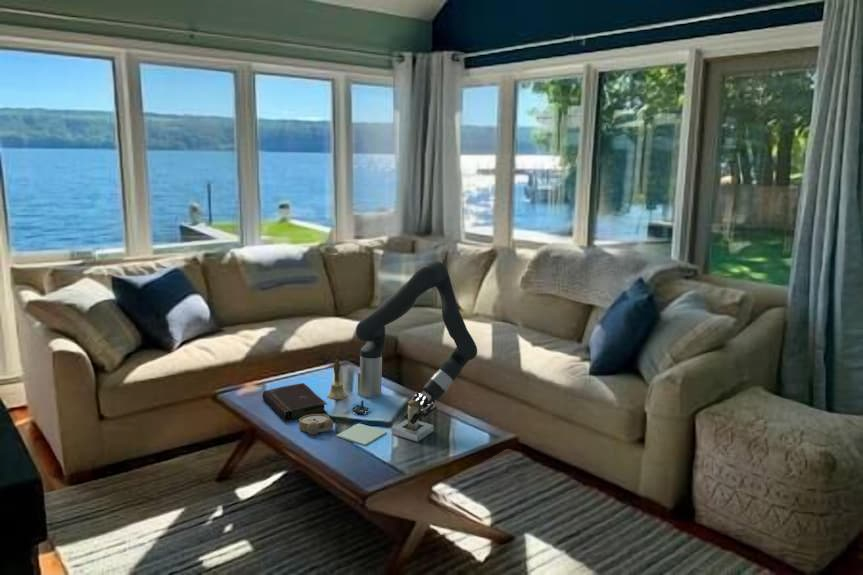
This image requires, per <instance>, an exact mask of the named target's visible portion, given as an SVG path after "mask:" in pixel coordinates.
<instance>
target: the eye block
mask: <svg viewBox="0 0 863 575" xmlns="http://www.w3.org/2000/svg"><path fill="white" fill-rule="evenodd" d="M433 432H434V424H430V423H427V422H424V421H420V420H419V424H418V430H416V431H413V430H410V429H408V420H407V419H406V418H405V419H404V420H403V421H401V422H400V423H398V424H396V425H394V426H392V427H391V434H392V435H393V436H396V437H401V438H404V439H407V440H409V441H413V442H419V441H421V440H422V439H424V438H425V437H426V436H428V435H429V434H431V433H433Z"/></svg>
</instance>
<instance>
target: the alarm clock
mask: <svg viewBox="0 0 863 575" xmlns="http://www.w3.org/2000/svg"><path fill="white" fill-rule="evenodd" d="M298 420H299V424H298V425H299V430H300V431H302V432H307V433H308V434H309V435H311V436H315V435H317V434H318V433H322V432H325V433H326V432H327V433H329V432H331V431H332V430H333V428H334V422H333V420H332V419H331V417H330V416H329V415H328V414H311V415H306V416H303V417H301V418H298Z"/></svg>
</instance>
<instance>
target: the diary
mask: <svg viewBox="0 0 863 575" xmlns="http://www.w3.org/2000/svg"><path fill="white" fill-rule="evenodd" d="M261 397H262V400H263V401H264V402H265V403H266V404H267V405H268V406H269V407H270V408H271V409H272V410H273V411H274V412H275V413H276V414H277V415H278V416H279V417H280V418H281V419H282V420H283V421H284V422H285V423H286V422H287V419H288V420H289V421H290V422H291V421H292V420H295V419H300V418H301V417H303V416H306V415H311V414H324V415H327V413H328V411H326V410H325V405H327V406H328V403H327V402H326V401H324V399H322V398H321V397H320V396H319V395H318V394H316V393H315V392H314V391H313V390H312V388H310V387H309V386H308V385H307V384H305V383H296V384H289V385H284V386H280V387H276V388H272V389H267V390H263V392H262V395H261ZM286 418H287V419H286Z"/></svg>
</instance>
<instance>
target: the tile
mask: <svg viewBox="0 0 863 575" xmlns="http://www.w3.org/2000/svg"><path fill="white" fill-rule="evenodd" d="M387 433H388V432H387V431H385V430H383V429H379V428H376V427H373V426H369V425H366V424H362V423H356V424H354V425H353V426H351V427H349V428H348V429H347V428H346V429H345V430H343V431H342V432H340V433H338V434H336V437H337V438H340V439H343V440H346V441H349V442H352V443H355V444H357V445H361V446H365V447H366V446H367V445H369V444H371V443H372V442H373V443H374V441H376V440H378V439H379V438H382V437H383V436H384V435H386V434H387Z"/></svg>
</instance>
